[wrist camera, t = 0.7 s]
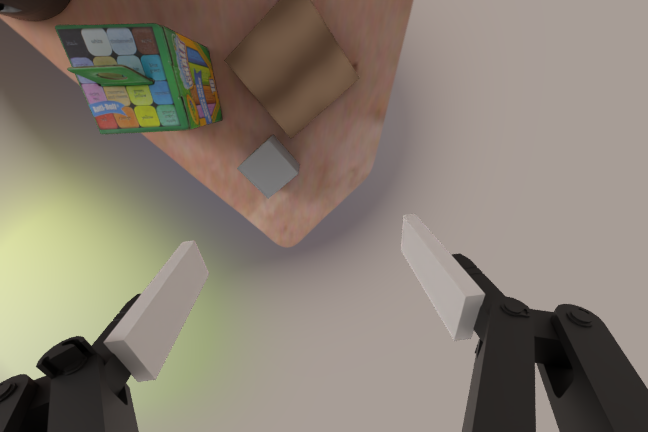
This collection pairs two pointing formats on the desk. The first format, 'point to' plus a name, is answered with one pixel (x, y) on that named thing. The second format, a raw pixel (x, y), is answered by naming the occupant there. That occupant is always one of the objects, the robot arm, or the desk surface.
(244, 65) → the block
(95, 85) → the chalk box
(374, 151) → the desk surface
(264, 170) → the grey block
